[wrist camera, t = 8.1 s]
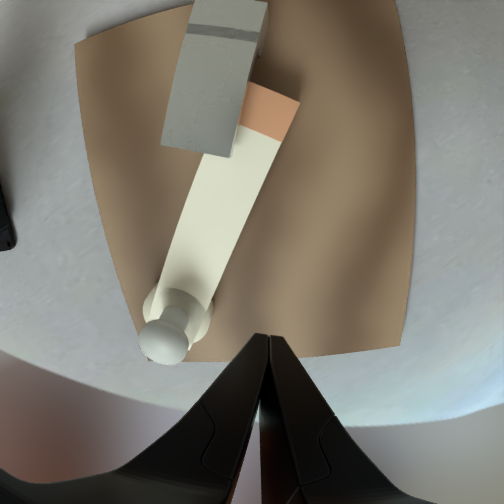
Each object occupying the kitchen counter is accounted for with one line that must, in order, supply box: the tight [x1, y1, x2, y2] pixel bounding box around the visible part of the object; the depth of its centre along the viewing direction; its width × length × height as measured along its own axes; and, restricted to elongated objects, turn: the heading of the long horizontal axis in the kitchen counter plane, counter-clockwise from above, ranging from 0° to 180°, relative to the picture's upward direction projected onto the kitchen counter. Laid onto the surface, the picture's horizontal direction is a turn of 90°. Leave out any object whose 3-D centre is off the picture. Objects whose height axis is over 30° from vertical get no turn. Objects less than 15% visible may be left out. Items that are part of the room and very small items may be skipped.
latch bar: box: [138, 82, 300, 365], centre depth 15 cm, size 15×4×4 cm, turn 157°
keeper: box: [160, 0, 269, 158], centre depth 12 cm, size 3×7×3 cm, turn 167°
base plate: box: [75, 0, 416, 362], centre depth 17 cm, size 18×22×1 cm
